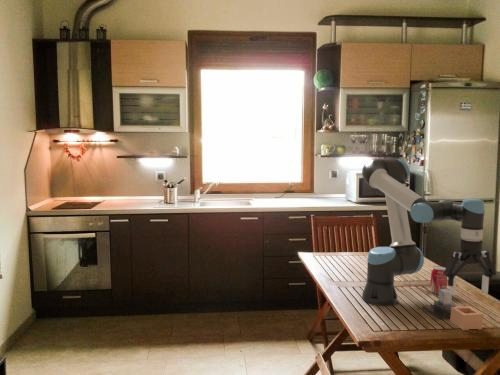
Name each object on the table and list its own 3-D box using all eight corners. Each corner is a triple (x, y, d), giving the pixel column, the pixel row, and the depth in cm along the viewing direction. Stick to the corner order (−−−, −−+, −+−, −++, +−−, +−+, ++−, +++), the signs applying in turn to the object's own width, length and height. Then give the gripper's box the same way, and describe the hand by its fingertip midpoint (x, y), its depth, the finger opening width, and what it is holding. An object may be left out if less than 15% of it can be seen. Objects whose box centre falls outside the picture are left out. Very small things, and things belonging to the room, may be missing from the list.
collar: (462, 330, 167) (463, 315, 166) (450, 321, 175) (451, 307, 174) (481, 329, 168) (482, 314, 167) (468, 320, 176) (469, 306, 175)
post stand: (438, 318, 177) (440, 296, 176) (423, 307, 189) (424, 286, 188) (466, 317, 179) (467, 295, 178) (449, 306, 191) (450, 285, 190)
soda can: (433, 288, 213) (435, 264, 212) (448, 292, 208) (450, 268, 207) (427, 292, 208) (428, 267, 207) (442, 296, 203) (444, 271, 202)
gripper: (446, 242, 162) (444, 298, 164) (508, 240, 165) (504, 295, 167) (435, 238, 169) (433, 291, 171) (494, 236, 173) (491, 288, 175)
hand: (468, 293), depth 169 cm, fingers open, 13 cm apart
